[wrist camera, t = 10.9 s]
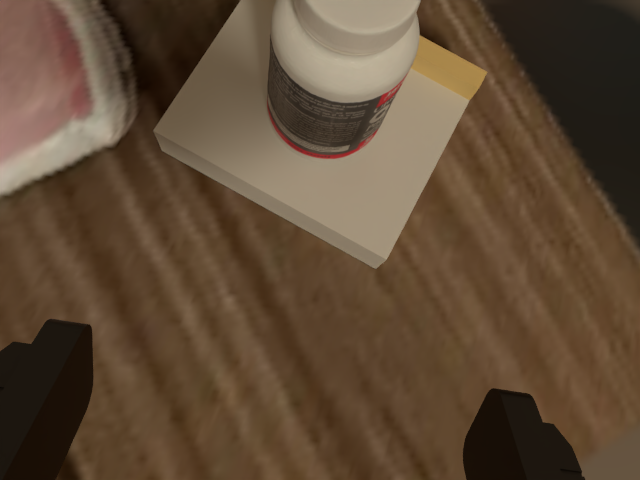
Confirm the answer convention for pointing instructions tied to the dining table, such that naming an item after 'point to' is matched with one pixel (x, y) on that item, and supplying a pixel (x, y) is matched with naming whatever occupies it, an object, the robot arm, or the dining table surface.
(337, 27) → the pill bottle
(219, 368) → the dining table surface
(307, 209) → the dock
